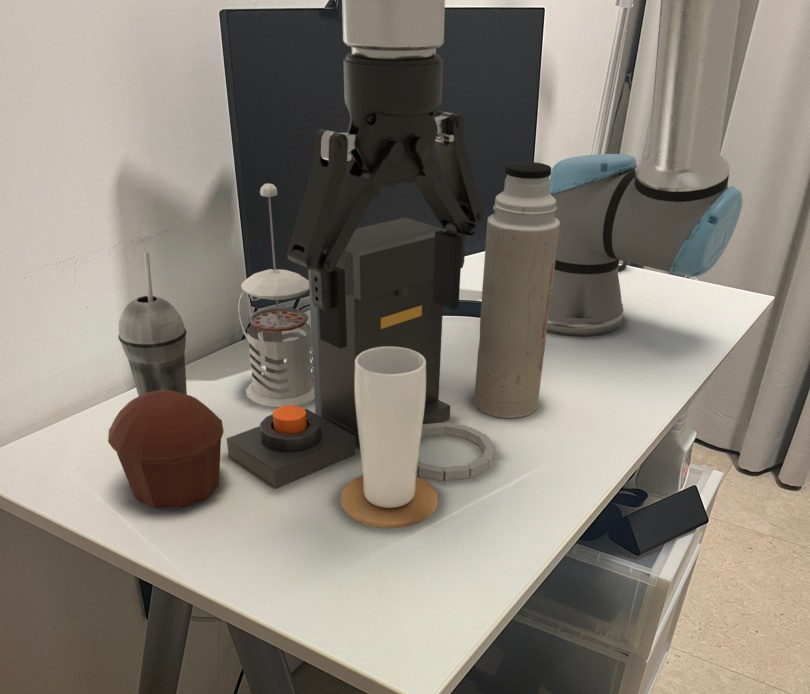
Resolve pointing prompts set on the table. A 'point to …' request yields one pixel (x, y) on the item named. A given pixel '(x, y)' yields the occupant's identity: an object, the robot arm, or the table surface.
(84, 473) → the table surface
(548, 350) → the table surface
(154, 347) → the beverage cup
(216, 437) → the muffin
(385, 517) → the disc
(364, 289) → the coffee maker
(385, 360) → the drinking glass
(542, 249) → the thermos bottle
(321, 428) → the power switch
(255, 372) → the french press
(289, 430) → the power button
